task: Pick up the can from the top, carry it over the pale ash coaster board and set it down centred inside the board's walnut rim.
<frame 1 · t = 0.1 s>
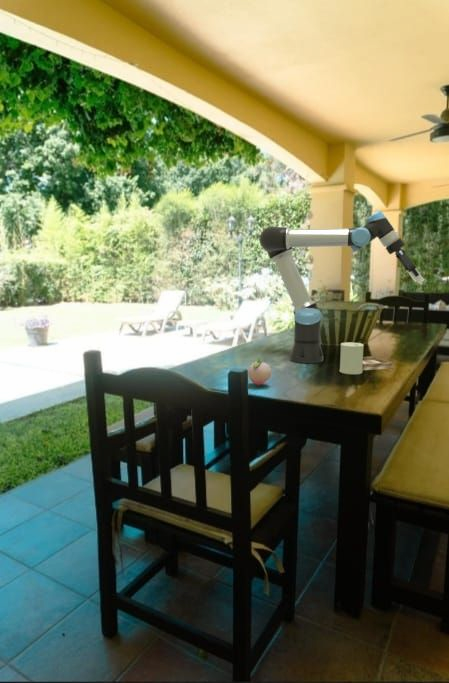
hand: (419, 281, 203), 36 cm above the table, tool tilted 35°, fingers open, 13 cm apart
coaster board: (369, 365, 197), on the table
can: (350, 372, 187), on the table
decorative fruit: (259, 386, 166), on the table
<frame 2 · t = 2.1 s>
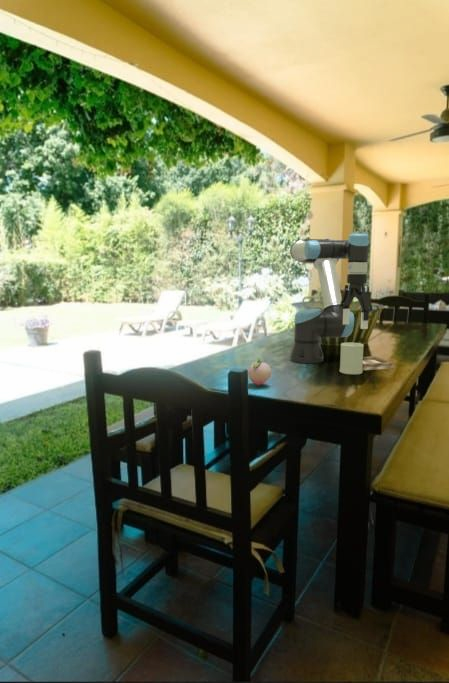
hand: (354, 326, 184), 19 cm above the table, tool pointing down, fingers open, 13 cm apart
nothing on the table moved.
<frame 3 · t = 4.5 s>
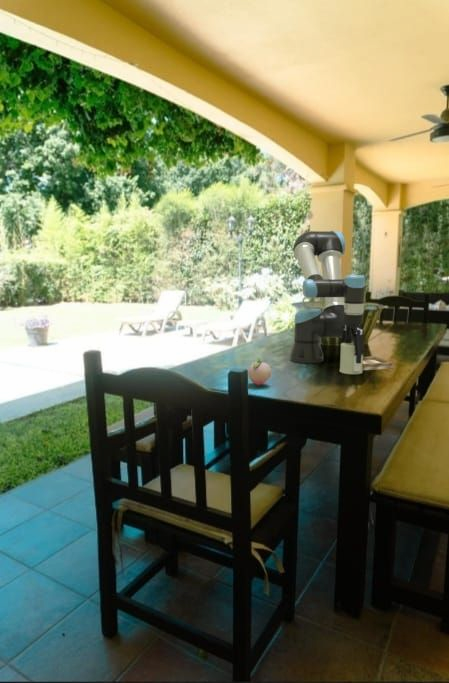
hand: (351, 368, 187), 1 cm above the table, tool pointing down, fingers closed on can, 9 cm apart
can: (350, 372, 187), on the table, touching gripper
everything else where it was.
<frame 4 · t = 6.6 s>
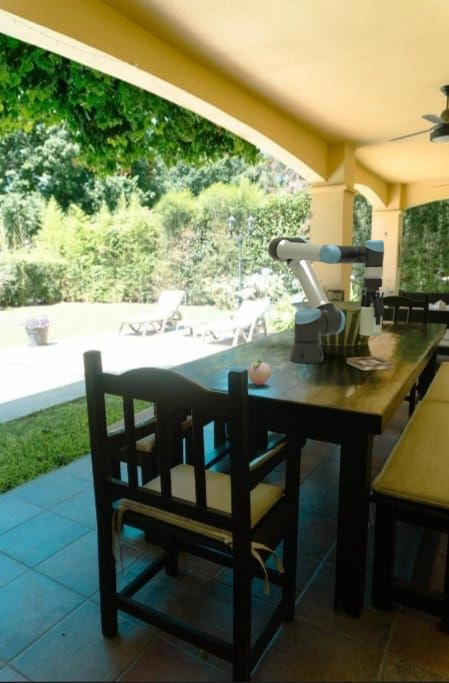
hand: (370, 330, 194), 16 cm above the table, tool pointing down, fingers closed on can, 9 cm apart
can: (370, 334, 194), point 14 cm above the table, touching gripper
everything else where it was.
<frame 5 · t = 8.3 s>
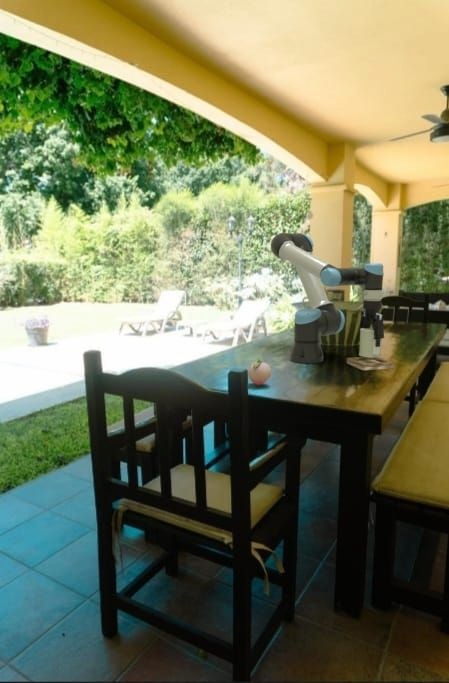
hand: (370, 352, 196), 6 cm above the table, tool pointing down, fingers closed on can, 9 cm apart
can: (369, 355, 197), point 4 cm above the table, touching gripper
everything else where it was.
when the fingers open (4 cm above the table, at t = 9.2 s): can drops 1 cm, resting on coaster board.
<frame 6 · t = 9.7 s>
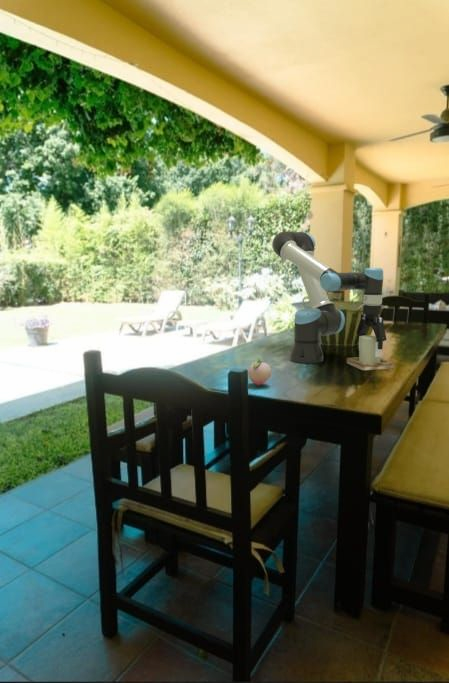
hand: (369, 353, 197), 5 cm above the table, tool pointing down, fingers open, 13 cm apart
can: (369, 363, 197), point 1 cm above the table, touching coaster board
everything else where it was.
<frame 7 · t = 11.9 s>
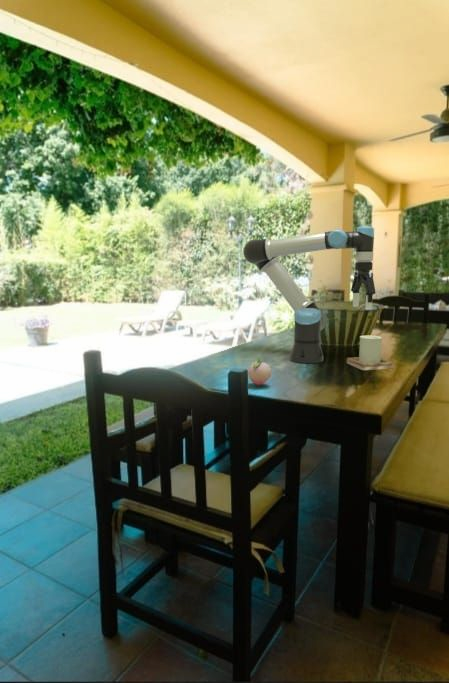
hand: (361, 308, 209), 23 cm above the table, tool pointing down, fingers open, 13 cm apart
nothing on the table moved.
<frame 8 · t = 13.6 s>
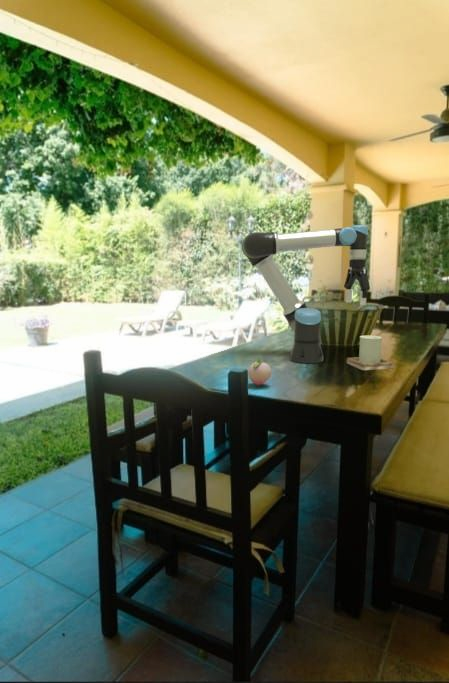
hand: (355, 303, 219), 25 cm above the table, tool pointing down, fingers open, 13 cm apart
nothing on the table moved.
at the end: can 0.1 cm off-centre on the coaster board, point 1.0 cm above the coaster board's base; can tilted 0°; the gripper is holding nothing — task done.
